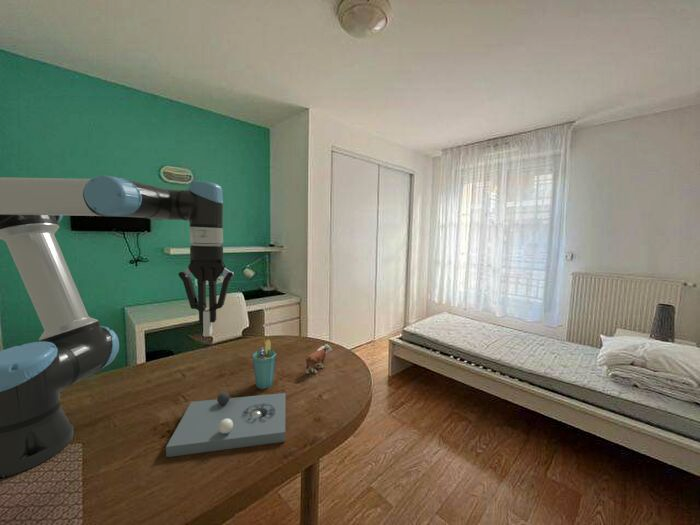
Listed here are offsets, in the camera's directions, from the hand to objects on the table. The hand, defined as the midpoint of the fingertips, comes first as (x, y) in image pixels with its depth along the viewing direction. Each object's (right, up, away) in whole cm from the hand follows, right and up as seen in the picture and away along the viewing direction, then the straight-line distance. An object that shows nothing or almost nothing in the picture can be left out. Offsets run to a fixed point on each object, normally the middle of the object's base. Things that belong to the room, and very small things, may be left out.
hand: (208, 334), depth 73 cm
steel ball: (+12, -23, +1) cm, 26 cm away
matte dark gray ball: (+2, -19, +5) cm, 20 cm away
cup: (+9, -22, +19) cm, 31 cm away
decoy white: (+8, -21, -6) cm, 23 cm away
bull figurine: (+25, -22, +32) cm, 46 cm away
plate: (+7, -24, 0) cm, 25 cm away
